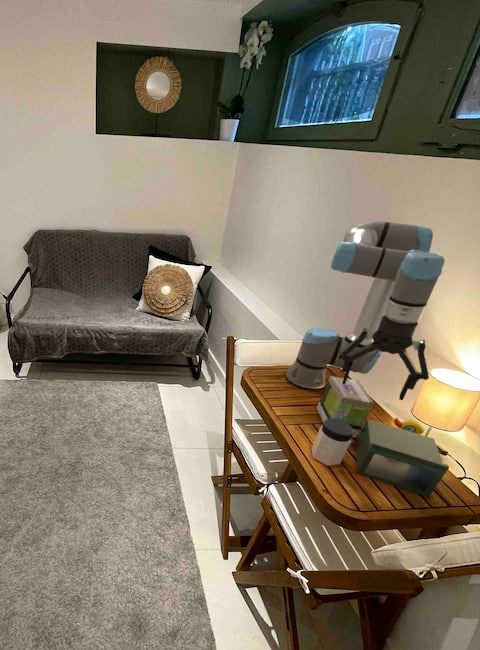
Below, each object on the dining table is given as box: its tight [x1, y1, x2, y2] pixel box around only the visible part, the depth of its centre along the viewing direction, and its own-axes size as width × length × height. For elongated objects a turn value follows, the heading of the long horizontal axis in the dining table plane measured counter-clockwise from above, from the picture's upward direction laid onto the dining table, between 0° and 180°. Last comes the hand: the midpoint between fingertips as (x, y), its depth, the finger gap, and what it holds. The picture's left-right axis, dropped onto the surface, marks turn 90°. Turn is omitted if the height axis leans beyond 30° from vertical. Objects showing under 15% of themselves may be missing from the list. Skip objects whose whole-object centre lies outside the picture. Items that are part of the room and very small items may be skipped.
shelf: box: [354, 418, 450, 498], centre depth 113 cm, size 16×18×12 cm
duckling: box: [393, 417, 425, 435], centre depth 123 cm, size 11×5×10 cm, turn 47°
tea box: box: [316, 375, 375, 438], centre depth 131 cm, size 15×10×15 cm, turn 168°
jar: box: [310, 419, 354, 467], centre depth 115 cm, size 9×8×12 cm
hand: (371, 389), depth 103 cm, fingers open, 13 cm apart
